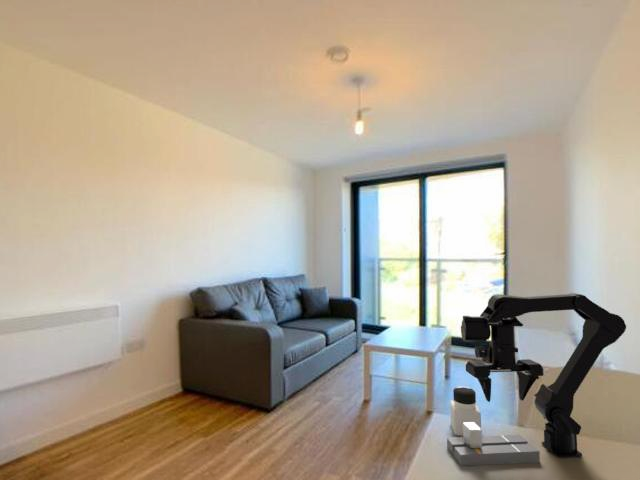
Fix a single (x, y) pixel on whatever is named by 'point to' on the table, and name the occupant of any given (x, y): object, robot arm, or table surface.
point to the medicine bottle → (464, 409)
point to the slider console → (494, 450)
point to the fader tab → (472, 435)
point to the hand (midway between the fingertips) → (504, 400)
